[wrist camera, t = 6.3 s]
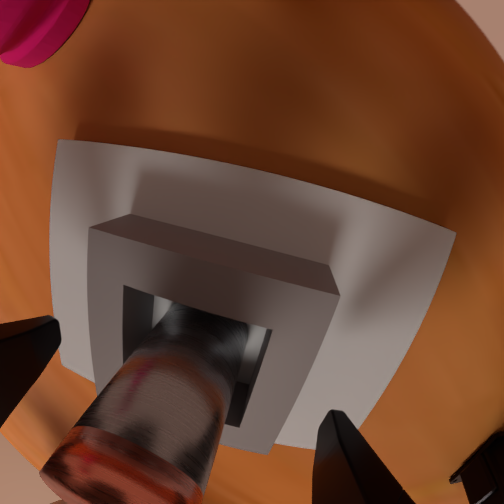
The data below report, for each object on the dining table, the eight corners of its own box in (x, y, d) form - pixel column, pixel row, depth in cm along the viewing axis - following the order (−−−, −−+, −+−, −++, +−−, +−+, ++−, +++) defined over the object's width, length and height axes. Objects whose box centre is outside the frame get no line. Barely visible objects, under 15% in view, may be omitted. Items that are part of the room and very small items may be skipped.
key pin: (257, 306, 10) (192, 535, 2) (238, 372, 11) (183, 557, 3) (172, 281, 10) (17, 445, 3) (164, 349, 11) (62, 503, 4)
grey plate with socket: (444, 227, 9) (495, 251, 6) (339, 438, 13) (343, 488, 10) (72, 140, 10) (15, 138, 7) (71, 356, 14) (37, 388, 10)
